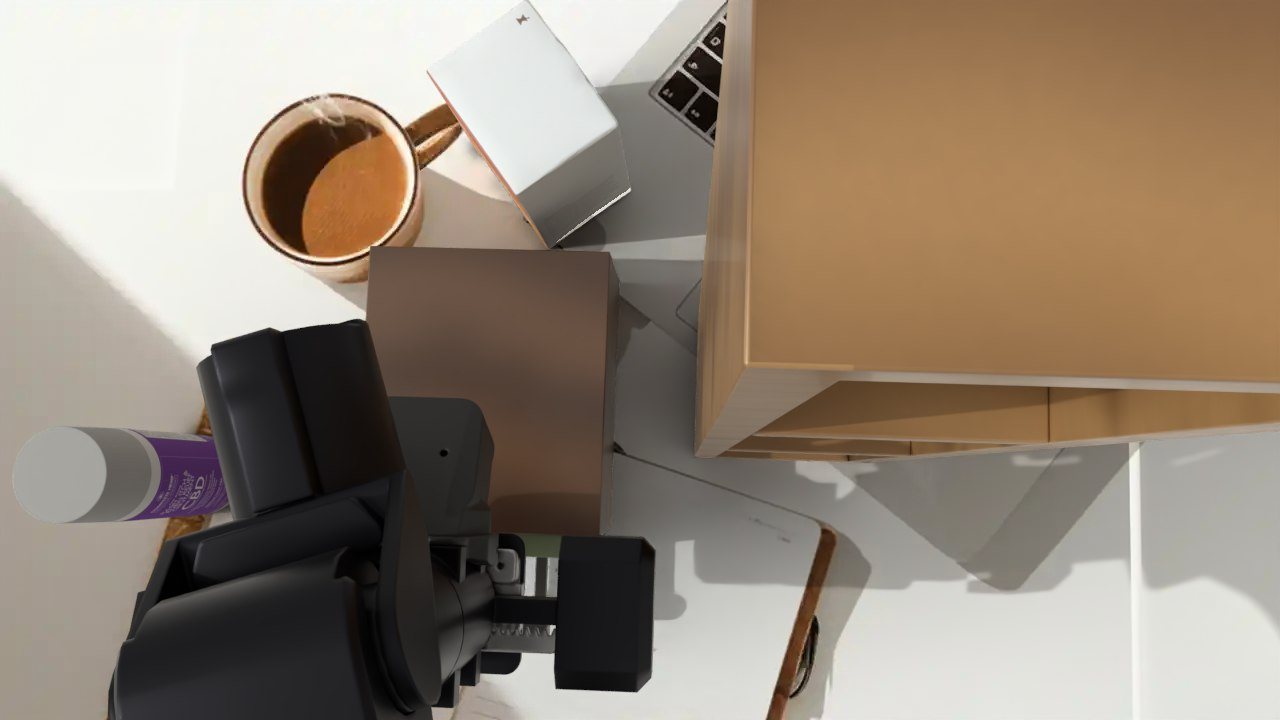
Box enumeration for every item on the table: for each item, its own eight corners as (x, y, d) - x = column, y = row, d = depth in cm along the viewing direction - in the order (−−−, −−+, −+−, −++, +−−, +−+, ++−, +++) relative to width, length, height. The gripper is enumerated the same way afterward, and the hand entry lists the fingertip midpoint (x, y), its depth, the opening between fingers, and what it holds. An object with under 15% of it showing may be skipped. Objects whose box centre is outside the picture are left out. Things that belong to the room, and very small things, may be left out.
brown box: (611, 528, 63) (599, 536, 54) (397, 521, 63) (352, 528, 55) (620, 281, 64) (610, 251, 56) (410, 276, 65) (369, 245, 56)
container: (241, 515, 64) (106, 527, 49) (163, 514, 64) (5, 526, 49) (245, 435, 64) (113, 423, 49) (168, 435, 64) (12, 422, 49)
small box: (472, 148, 65) (421, 66, 53) (558, 88, 66) (527, -8, 53) (548, 254, 65) (515, 198, 52) (635, 193, 65) (623, 122, 52)
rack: (866, 462, 62) (1740, 396, 11) (694, 457, 63) (743, 367, 11) (867, 326, 63) (1685, -339, 12) (697, 321, 64) (760, -340, 12)
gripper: (655, 408, 38) (663, 428, 54) (143, 392, 39) (296, 417, 55) (645, 729, 37) (656, 656, 53) (117, 707, 38) (281, 641, 54)
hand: (470, 585), depth 53 cm, fingers closed
